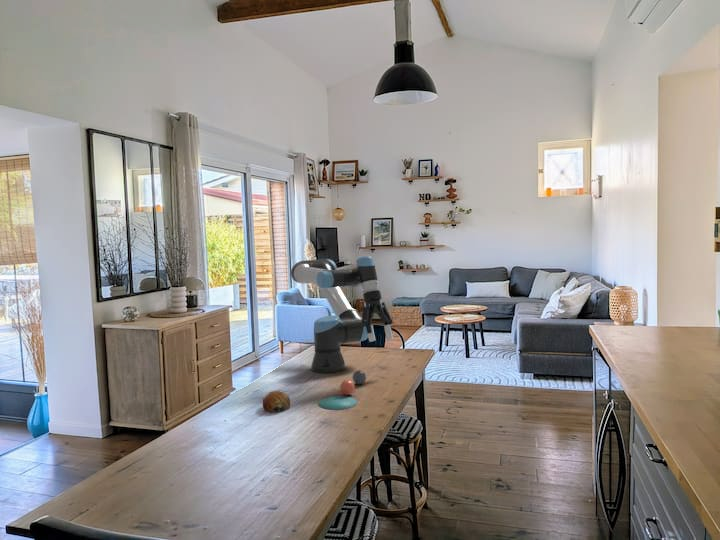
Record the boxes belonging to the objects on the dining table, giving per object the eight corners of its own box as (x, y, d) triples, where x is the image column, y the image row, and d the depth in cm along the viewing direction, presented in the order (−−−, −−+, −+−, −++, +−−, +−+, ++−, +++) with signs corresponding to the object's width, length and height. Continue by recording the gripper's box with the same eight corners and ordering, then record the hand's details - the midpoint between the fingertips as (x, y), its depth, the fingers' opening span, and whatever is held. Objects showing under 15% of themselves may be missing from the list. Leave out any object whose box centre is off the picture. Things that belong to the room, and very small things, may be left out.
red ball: (337, 394, 202) (336, 380, 201) (348, 391, 205) (348, 377, 205) (346, 397, 198) (345, 383, 197) (357, 394, 201) (357, 380, 201)
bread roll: (292, 415, 192) (293, 392, 194) (286, 412, 182) (287, 388, 185) (265, 415, 193) (267, 392, 195) (257, 412, 183) (259, 388, 186)
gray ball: (350, 384, 215) (349, 370, 215) (360, 381, 218) (360, 368, 218) (358, 386, 211) (358, 373, 210) (369, 384, 214) (368, 370, 214)
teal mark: (310, 402, 193) (310, 402, 193) (341, 394, 202) (341, 393, 202) (333, 412, 182) (333, 411, 182) (365, 403, 191) (365, 402, 191)
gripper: (361, 288, 216) (372, 339, 211) (393, 290, 236) (404, 337, 231) (347, 293, 220) (357, 343, 215) (380, 295, 240) (389, 341, 235)
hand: (381, 340), depth 223 cm, fingers open, 13 cm apart
